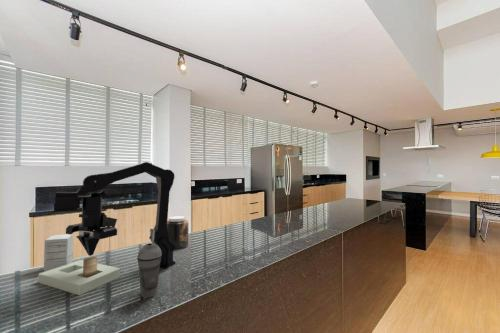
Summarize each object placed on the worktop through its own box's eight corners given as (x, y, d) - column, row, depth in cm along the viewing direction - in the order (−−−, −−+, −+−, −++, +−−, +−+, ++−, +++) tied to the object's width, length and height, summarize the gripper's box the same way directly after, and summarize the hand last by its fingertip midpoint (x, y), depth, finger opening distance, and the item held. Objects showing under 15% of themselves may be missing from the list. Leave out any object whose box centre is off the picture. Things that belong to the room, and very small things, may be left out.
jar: (165, 251, 112) (165, 220, 113) (163, 244, 123) (164, 216, 124) (189, 248, 117) (190, 218, 118) (186, 241, 128) (186, 214, 128)
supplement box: (51, 266, 93) (52, 235, 93) (73, 263, 96) (74, 233, 96) (42, 273, 86) (44, 239, 86) (66, 270, 89) (67, 237, 89)
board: (120, 276, 84) (120, 268, 84) (79, 295, 71) (79, 285, 71) (80, 267, 92) (81, 259, 92) (38, 282, 79) (38, 273, 79)
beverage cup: (141, 288, 75) (142, 227, 76) (164, 287, 76) (165, 227, 77) (132, 300, 68) (133, 232, 69) (157, 299, 69) (158, 232, 70)
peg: (99, 280, 81) (100, 257, 81) (87, 285, 77) (88, 261, 77) (91, 278, 82) (92, 256, 82) (79, 283, 78) (80, 260, 79)
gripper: (131, 208, 84) (130, 251, 84) (96, 206, 91) (95, 245, 91) (101, 213, 74) (100, 262, 74) (65, 210, 81) (64, 254, 80)
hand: (90, 255), depth 80 cm, fingers closed
